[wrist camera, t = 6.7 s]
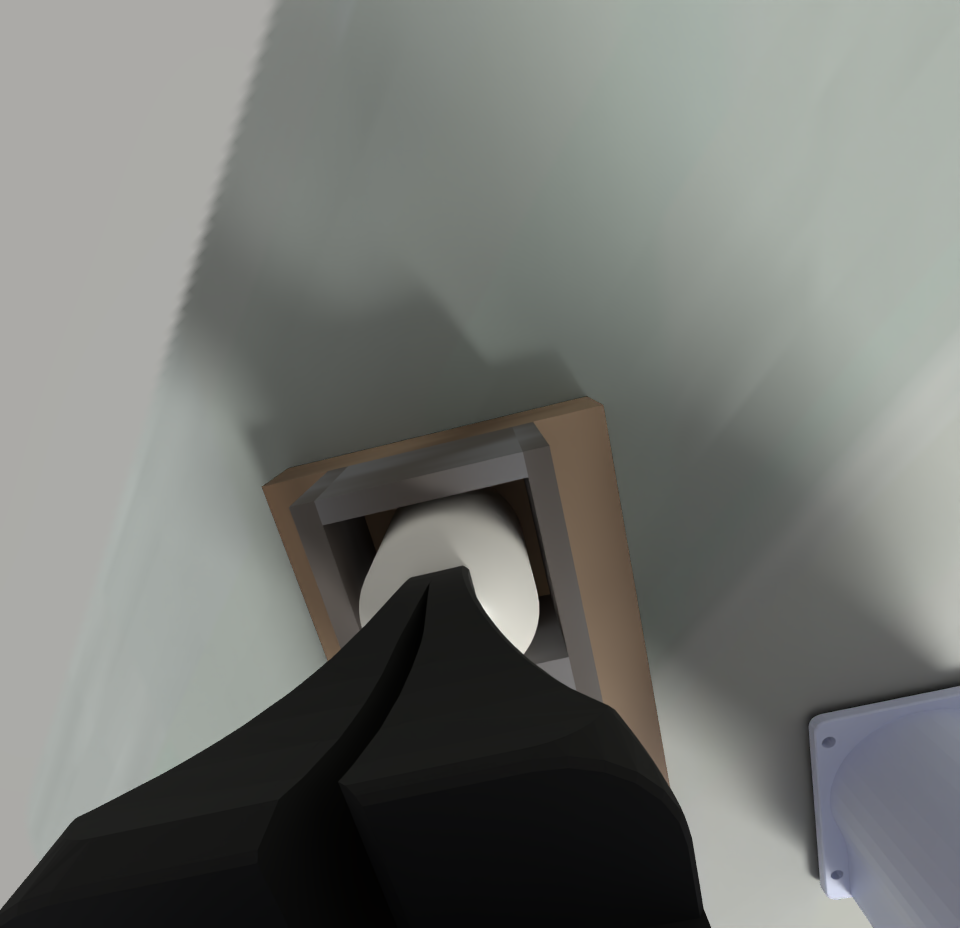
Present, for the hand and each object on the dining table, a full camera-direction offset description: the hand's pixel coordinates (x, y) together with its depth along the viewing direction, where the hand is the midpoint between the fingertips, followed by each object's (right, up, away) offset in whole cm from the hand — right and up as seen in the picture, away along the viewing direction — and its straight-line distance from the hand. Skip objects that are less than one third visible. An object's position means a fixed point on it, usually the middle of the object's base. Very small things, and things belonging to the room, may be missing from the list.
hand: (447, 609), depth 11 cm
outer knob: (0, +1, +4) cm, 4 cm away
